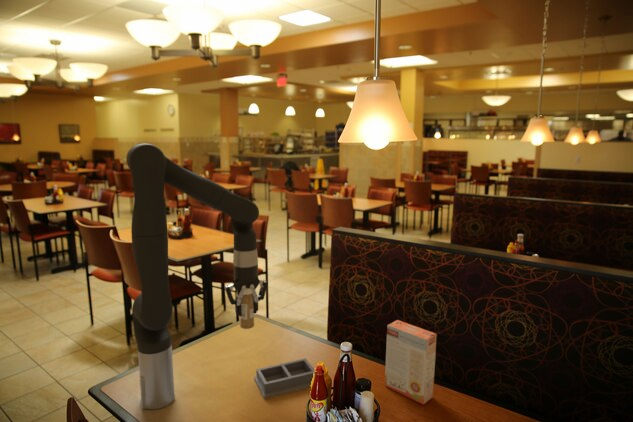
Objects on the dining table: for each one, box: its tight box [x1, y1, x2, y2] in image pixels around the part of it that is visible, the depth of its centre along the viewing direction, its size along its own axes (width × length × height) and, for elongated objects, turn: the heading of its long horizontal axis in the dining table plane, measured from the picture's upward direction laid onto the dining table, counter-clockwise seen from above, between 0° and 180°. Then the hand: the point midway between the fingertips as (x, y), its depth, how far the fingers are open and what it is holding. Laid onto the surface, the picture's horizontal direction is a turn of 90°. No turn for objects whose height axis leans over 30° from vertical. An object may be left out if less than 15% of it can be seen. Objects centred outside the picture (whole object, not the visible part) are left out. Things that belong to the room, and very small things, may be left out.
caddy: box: [253, 358, 315, 400], centre depth 134 cm, size 18×11×4 cm, turn 114°
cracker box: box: [384, 319, 438, 406], centre depth 128 cm, size 14×6×21 cm, turn 45°
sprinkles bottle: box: [239, 288, 255, 330], centre depth 134 cm, size 5×5×13 cm
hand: (247, 313), depth 134 cm, fingers closed on sprinkles bottle, 4 cm apart
